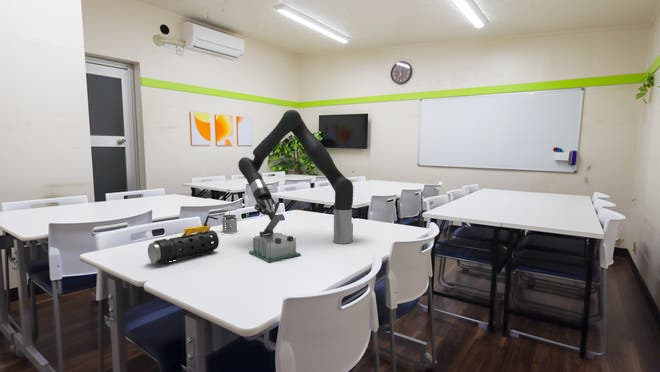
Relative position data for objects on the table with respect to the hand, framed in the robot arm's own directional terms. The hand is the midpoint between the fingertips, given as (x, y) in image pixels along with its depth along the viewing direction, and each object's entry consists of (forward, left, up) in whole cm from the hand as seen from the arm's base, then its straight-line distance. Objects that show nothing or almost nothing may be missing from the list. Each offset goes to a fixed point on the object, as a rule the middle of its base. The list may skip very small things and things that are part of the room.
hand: (274, 220), depth 158 cm
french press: (-2, -54, -16) cm, 56 cm away
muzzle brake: (+33, -20, -16) cm, 42 cm away
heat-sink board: (0, 0, -16) cm, 16 cm away
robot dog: (+18, -42, -16) cm, 48 cm away
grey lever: (0, 0, -4) cm, 4 cm away
